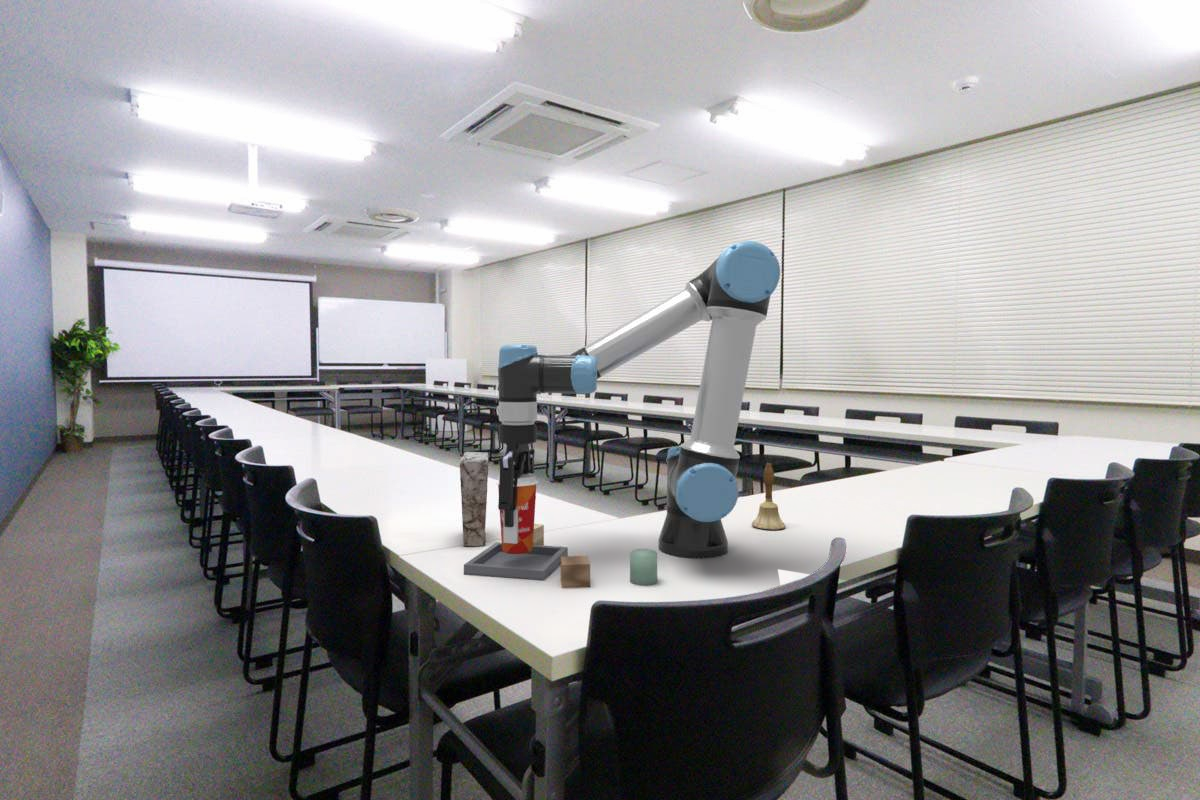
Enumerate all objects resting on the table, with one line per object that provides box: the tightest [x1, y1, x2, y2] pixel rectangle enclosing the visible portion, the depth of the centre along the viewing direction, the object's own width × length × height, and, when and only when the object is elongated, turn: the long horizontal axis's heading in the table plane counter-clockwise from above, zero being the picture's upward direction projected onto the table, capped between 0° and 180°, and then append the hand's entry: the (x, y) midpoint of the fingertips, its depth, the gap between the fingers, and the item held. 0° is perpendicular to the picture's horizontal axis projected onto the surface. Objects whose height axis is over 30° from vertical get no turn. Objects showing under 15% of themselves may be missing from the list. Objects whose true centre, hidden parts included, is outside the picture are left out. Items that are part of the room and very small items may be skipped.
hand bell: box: [751, 462, 786, 531], centre depth 160 cm, size 8×8×16 cm
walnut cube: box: [560, 555, 591, 589], centre depth 115 cm, size 5×5×5 cm
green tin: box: [629, 548, 658, 587], centre depth 116 cm, size 5×5×6 cm
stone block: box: [459, 451, 489, 547], centre depth 146 cm, size 13×7×20 cm, turn 15°
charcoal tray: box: [463, 541, 569, 582], centre depth 126 cm, size 16×16×2 cm
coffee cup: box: [496, 473, 539, 554], centre depth 125 cm, size 8×8×15 cm
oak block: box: [533, 523, 545, 546], centre depth 140 cm, size 6×4×5 cm, turn 67°
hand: (517, 537), depth 126 cm, fingers closed on coffee cup, 7 cm apart
